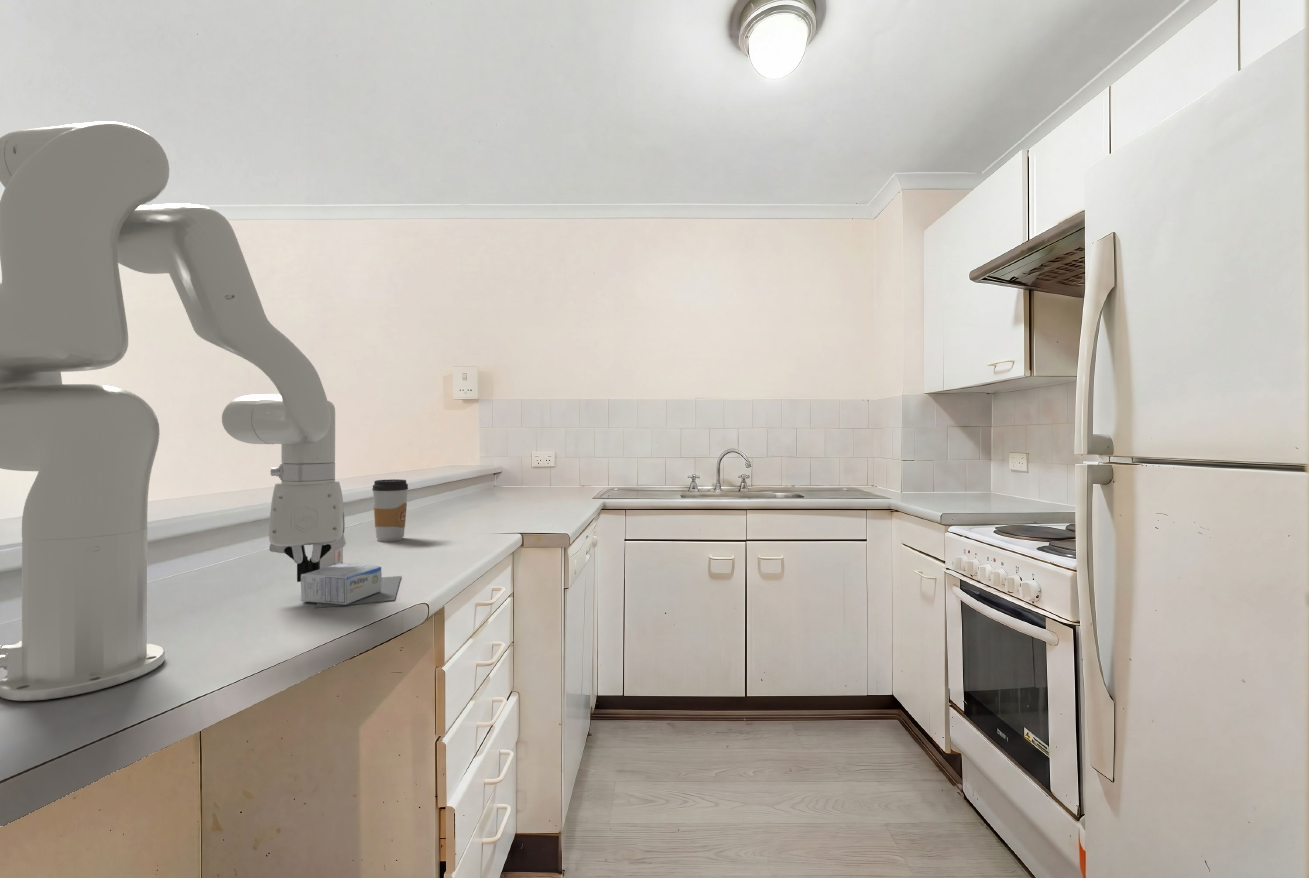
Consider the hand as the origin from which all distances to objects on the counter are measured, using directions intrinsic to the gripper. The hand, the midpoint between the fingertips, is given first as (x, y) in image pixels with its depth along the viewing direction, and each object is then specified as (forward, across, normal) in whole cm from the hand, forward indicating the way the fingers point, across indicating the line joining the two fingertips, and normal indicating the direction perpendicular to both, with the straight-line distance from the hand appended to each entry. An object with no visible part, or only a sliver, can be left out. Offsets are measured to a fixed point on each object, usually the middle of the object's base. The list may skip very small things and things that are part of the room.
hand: (308, 585), depth 91 cm
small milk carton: (+2, 0, +21) cm, 21 cm away
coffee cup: (+2, +9, +50) cm, 51 cm away
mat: (+2, +8, 0) cm, 8 cm away
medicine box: (-1, +2, -1) cm, 2 cm away
